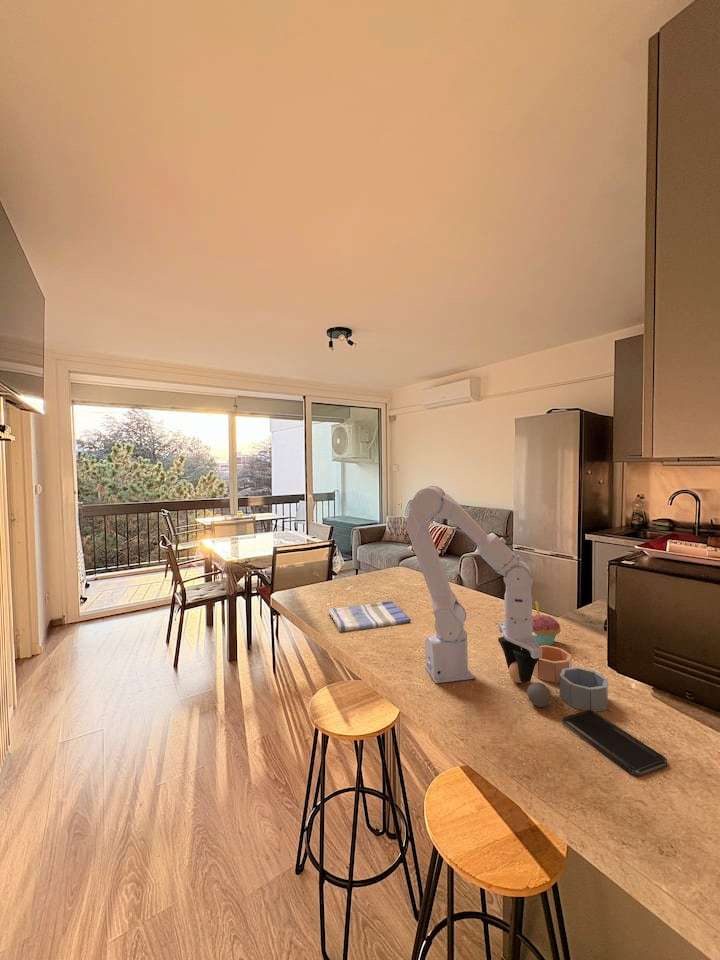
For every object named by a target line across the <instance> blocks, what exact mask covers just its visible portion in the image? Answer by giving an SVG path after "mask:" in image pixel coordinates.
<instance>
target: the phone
mask: <svg viewBox="0 0 720 960" xmlns="http://www.w3.org/2000/svg"><path fill="white" fill-rule="evenodd" d="M561 720H562V725H563V726H564V727H566V728H567V729H568V730H570V731H571V732H572V733H573V734H575V735H576V736H577V737H579V738H580V739H581V740H583V741H584V742H585V743H587V744H588V745H589V746H591V747H592V748H594V749H595V750H596V751H598V752H599V753H600V754H602V755H603V756H604V757H605V758H607V759H608V760H610V761H611V762H612V763H614V764H615V765H616V766H618V767H619V768H620V769H621V770H622V771H624V772H626V773H627V774H628V775H630V776H632V777H635V778H641V777H644V776H647V775H650V774H651V773H655V772H657V771H660V770H662V769H665V768H667V767H668V758H666V757H665V756H664V755H662V754H661V753H659V752H658V751H656V750H654V749H653V748H652V747H650V746H648V745H647V744H646V743H644V742H643V741H641V740H639V739H637V738H636V737H634V736H633V735H631V734H630V733H629V732H627V731H626V730H624V729H623V728H621V727H619V726H618V725H616V724H615V723H613V722H611V721H610V720H608V719H607V718H605V717H604V716H602V715H601V714H599V713H598V712H597V711H596V712H594V711H591V710H586V711H585V710H582V711H579V712H577V713H573V714H569V715H566V716H563V717H562V719H561Z"/></svg>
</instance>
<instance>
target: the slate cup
mask: <svg viewBox="0 0 720 960" xmlns="http://www.w3.org/2000/svg"><path fill="white" fill-rule="evenodd" d="M559 698H560V699H562V700H563V701H564V702H565V703H566V704H567V705H568V706H570V707H572V708H575V709H579V710H582V711H586V710H591V711H594V712H596V713H597V712H601V711H602V712H603V711H607V710H608V704H609V680H608V678H606V677H605V676H604V675H602V674H601V673H599V672H598V671H595V670H591V669H588V668H583V667H579V666H575V667H573V666H572V668H564V669H562V671H561V673H560V682H559Z"/></svg>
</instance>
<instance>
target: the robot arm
mask: <svg viewBox="0 0 720 960" xmlns="http://www.w3.org/2000/svg"><path fill="white" fill-rule="evenodd" d="M438 513H439V514H438ZM437 514H438V516H437V517H438V518H439V519H445V520H449V521H452V522H453V523H454V524H455V525H456V526H457V528H460V530H461V531H463V532H464V533H465V534H466V535H467V536H468V537H469V538H470V539H471V540H472V541H473V542H474V543H475V544H476V545H477V549H476V550H477V552H476V553H478V555H479V556H481V558H482V559H483V560H484V561H485V562H486V563H487V564H488V565H489V566H490V567H492V569H493V570H494V571H495V572H496V573H497V574H499V575H501V576H503V582H504V584H505V593H504V622H499V623H498V632H499V633H501V634H503V636H501V637H497V641H498V643H499V645H500V646H501V648H502V651H503V654H504V657H505V662H506V665H507V669H508V670H509V667H510V665H511V664H512V663H513V662H516V661H517V664H518V670H519V678H520V681H521V682H524V683H529V682H531V681H532V678H533V675H534V674H533V670H534V667H535V665H536V663H537V661H538V660H539V658H542V648H540V647H539V646H540V645H538V644H537V642H536V640H535V638H537V634H535V633H534V632H532V616H533V596H532V586H533V583H534V579H533V575H532V571H531V567H530V565H529V564H527V561H526V560H524V559H522V556H520V554H517V555H516V553H515V552H514V551H512V550H511V548H509V547H508V546H507V545H506V543H507V541H506V540H505V539H504V537H503V536H502V537H499V536H498V535H495V534H488V533H486V532H485V530H484V529H483V528H482V527H481V526H480V524H478V523H477V522H476V521H475V519H474V518H472V517H471V515H470V514H469V513H468V512H467V511H466V510H465V509H464V508H463V507H462V506H461V504H459V503H458V501H456V499H454V498H453V497H452V496H451V495H449V494H448V493H447V494H446V493H445V491H444V490H443V489H442V488H441V487H439V486H437V485H429V486H427V487H424V488H422V489H419V490H418V491H417V492H416V493H415V495H414V496H413V497H412V499H411V501H410V502H409V512H408V516H407V523H406V531H407V534H408V537H409V540H410V543H411V545H412V546H411V547H412V548H413V551H414V554H415V556H416V558H417V562H418V564H419V567H420V570H421V573H422V575H423V579H424V581H425V584H426V586H427V589H428V592H429V594H430V597H431V600H432V601H431V602H432V612H433V615H434V617H435V619H434V620H435V621H434V622H435V623H434V630H435V634H433V635H431V636H428V637H426V638H425V642H424V644H425V645H424V648H425V650H424V652H425V665H424V668H425V669H426V671H427V673H428V674H429V675H430V676H431V678H432V680H433V682H434V683H436V684H440V683H449V682H457V681H465V680H466V681H467V680H473V679H476V675H475V674H473V672H472V671H471V670H470V669H469V666H468V665H469V662H468V659H469V656H468V655H469V654H468V651H469V650H468V633H467V631H466V630H465V629H464V626H465V622H466V619H467V611H466V609H465V607H464V606H463V605H462V604H461V603H460V602H459V600H458V598H457V596H456V593H454V591H453V590H452V588H451V584H450V582H449V580H448V577H447V574H446V571H445V569H444V566H443V564H442V560H441V558H440V555H439V553H438V550H437V548H436V544H435V542H434V539H433V536H432V534H431V531H430V526H431V525H432V522H433V520H434V519H435V516H436V515H437Z"/></svg>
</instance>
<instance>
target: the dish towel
mask: <svg viewBox="0 0 720 960" xmlns="http://www.w3.org/2000/svg"><path fill="white" fill-rule="evenodd" d="M327 612H328V614H329V616H330V615H331V616H330V618H331V619H332V618H333V619H332V621H333V620H334V621H333V622H335V623H334V625H335V626H337V627H336V629H337V631H338V632H339V633H343V632H352V631H360V630H361V631H362V630H368V629H374V628H380V627H383V628H384V627H388V626H389V627H390V626H396V625H402V624H407V623H410V622H412V620H411V618H409V616H408V615H407V613H405V612H404V611H403V610H402V609H401V608H400V607H399V606H398V605H397V604H396V603H394V601H392V600H385V601H379V602H372V603H369V604H364V605H363V604H362V605H359V604H358V605H350V606H343V607H331V608H329V609H327Z"/></svg>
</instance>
